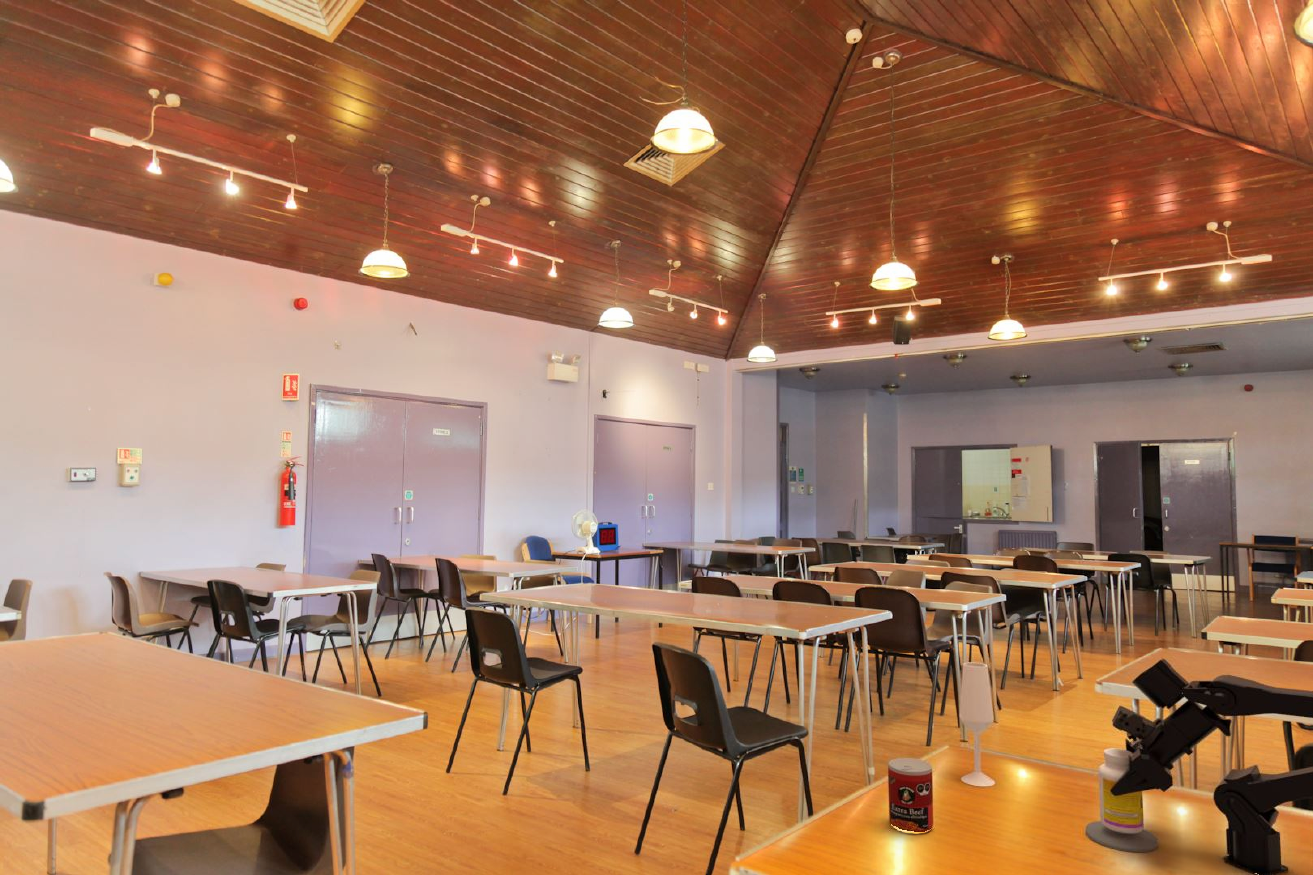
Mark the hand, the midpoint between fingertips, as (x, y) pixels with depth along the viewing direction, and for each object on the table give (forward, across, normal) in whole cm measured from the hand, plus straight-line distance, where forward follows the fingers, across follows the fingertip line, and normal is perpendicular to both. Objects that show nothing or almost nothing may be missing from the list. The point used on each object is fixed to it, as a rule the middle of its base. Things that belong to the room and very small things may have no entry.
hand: (1111, 786), depth 145 cm
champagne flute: (+23, -19, -11) cm, 32 cm away
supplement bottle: (+4, 0, +6) cm, 7 cm away
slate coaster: (+5, 0, +7) cm, 9 cm away
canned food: (+29, +11, -17) cm, 36 cm away
